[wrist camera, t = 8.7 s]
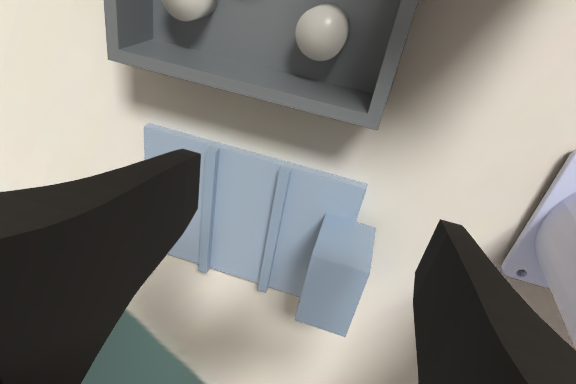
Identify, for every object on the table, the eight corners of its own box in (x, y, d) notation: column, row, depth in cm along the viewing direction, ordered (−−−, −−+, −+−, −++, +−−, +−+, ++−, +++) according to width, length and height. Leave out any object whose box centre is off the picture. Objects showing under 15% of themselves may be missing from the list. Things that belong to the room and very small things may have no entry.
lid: (388, 186, 23) (383, 237, 19) (347, 301, 28) (335, 361, 24) (152, 120, 25) (100, 153, 21) (154, 239, 30) (113, 285, 26)
